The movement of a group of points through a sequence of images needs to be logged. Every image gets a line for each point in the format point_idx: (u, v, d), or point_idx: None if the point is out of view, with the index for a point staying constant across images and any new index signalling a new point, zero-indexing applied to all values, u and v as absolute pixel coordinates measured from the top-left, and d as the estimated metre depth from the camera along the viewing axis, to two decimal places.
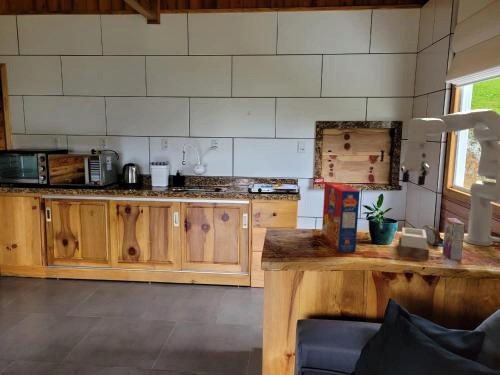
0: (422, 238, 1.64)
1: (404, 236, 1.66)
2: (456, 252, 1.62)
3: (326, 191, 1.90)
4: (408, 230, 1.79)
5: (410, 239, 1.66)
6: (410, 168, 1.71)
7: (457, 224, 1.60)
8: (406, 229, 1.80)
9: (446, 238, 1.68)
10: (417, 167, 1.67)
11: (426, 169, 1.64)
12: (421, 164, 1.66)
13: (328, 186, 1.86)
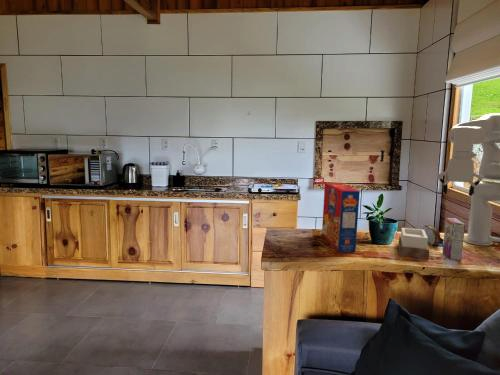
0: (423, 238, 1.64)
1: (405, 236, 1.66)
2: (456, 252, 1.62)
3: (326, 191, 1.90)
4: (407, 230, 1.79)
5: (411, 239, 1.66)
6: (459, 179, 1.61)
7: (457, 224, 1.60)
8: (405, 229, 1.80)
9: (446, 238, 1.68)
10: (470, 178, 1.60)
11: (480, 179, 1.60)
12: (473, 174, 1.60)
13: (328, 186, 1.86)
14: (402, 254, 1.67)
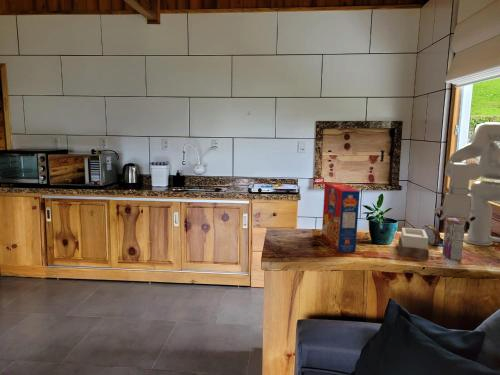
0: (423, 238, 1.64)
1: (405, 236, 1.66)
2: (456, 252, 1.62)
3: (326, 191, 1.90)
4: (408, 230, 1.79)
5: (412, 240, 1.65)
6: (455, 215, 1.63)
7: (457, 224, 1.60)
8: (406, 229, 1.80)
9: (446, 238, 1.68)
10: (466, 214, 1.61)
11: (475, 215, 1.62)
12: None
13: (328, 186, 1.86)
14: (402, 254, 1.67)
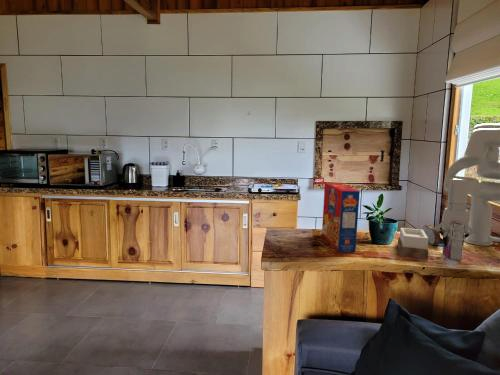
0: (424, 238, 1.64)
1: (406, 237, 1.66)
2: (456, 251, 1.62)
3: (326, 191, 1.90)
4: (406, 230, 1.79)
5: (412, 240, 1.65)
6: None
7: (457, 224, 1.60)
8: (404, 229, 1.80)
9: None
10: (465, 229, 1.63)
11: (470, 233, 1.64)
12: None
13: (328, 186, 1.86)
14: (401, 254, 1.67)
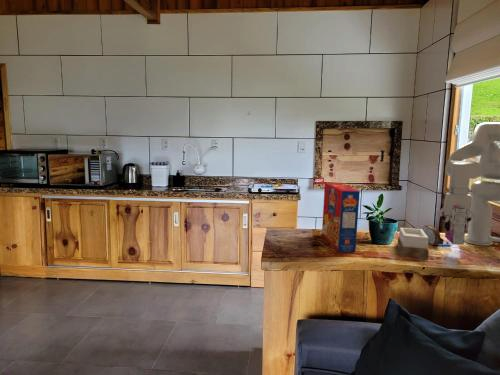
0: (424, 238, 1.64)
1: (406, 236, 1.66)
2: (459, 236, 1.62)
3: (326, 191, 1.90)
4: (406, 230, 1.80)
5: (412, 239, 1.66)
6: None
7: (459, 208, 1.60)
8: (404, 229, 1.80)
9: None
10: (467, 213, 1.62)
11: (472, 217, 1.63)
12: (470, 210, 1.62)
13: (328, 186, 1.86)
14: (401, 254, 1.67)
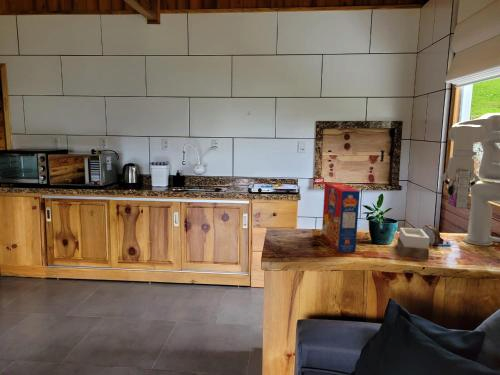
0: (425, 238, 1.64)
1: (407, 237, 1.66)
2: (462, 199, 1.59)
3: (326, 191, 1.90)
4: (406, 230, 1.80)
5: (413, 240, 1.65)
6: None
7: (463, 171, 1.57)
8: (404, 229, 1.80)
9: (452, 187, 1.65)
10: (471, 176, 1.60)
11: (476, 181, 1.61)
12: (474, 173, 1.60)
13: (328, 186, 1.86)
14: (402, 254, 1.67)
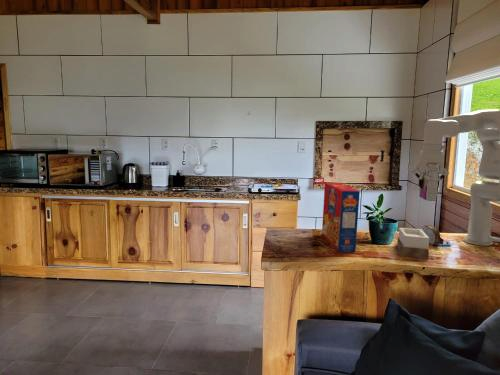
0: (425, 238, 1.64)
1: (407, 237, 1.66)
2: (432, 192, 1.63)
3: (326, 191, 1.90)
4: (405, 230, 1.79)
5: (413, 240, 1.65)
6: None
7: (432, 164, 1.61)
8: (403, 229, 1.80)
9: None
10: (440, 170, 1.63)
11: (445, 174, 1.64)
12: (443, 166, 1.64)
13: (328, 186, 1.86)
14: (402, 254, 1.67)
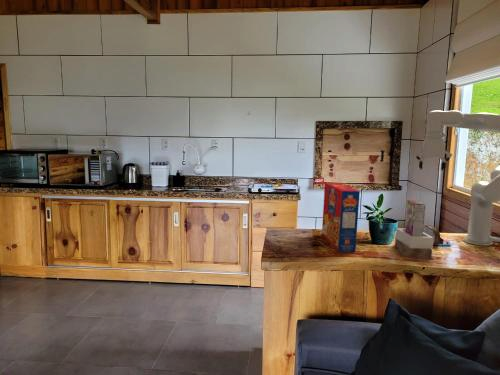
0: (429, 238, 1.64)
1: (413, 238, 1.64)
2: (418, 232, 1.67)
3: (326, 191, 1.90)
4: (403, 230, 1.79)
5: (419, 240, 1.65)
6: (432, 156, 1.88)
7: (418, 205, 1.65)
8: (401, 229, 1.79)
9: (408, 219, 1.73)
10: (442, 154, 1.87)
11: (449, 156, 1.87)
12: (444, 152, 1.87)
13: (328, 186, 1.86)
14: (405, 255, 1.65)
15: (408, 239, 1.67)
